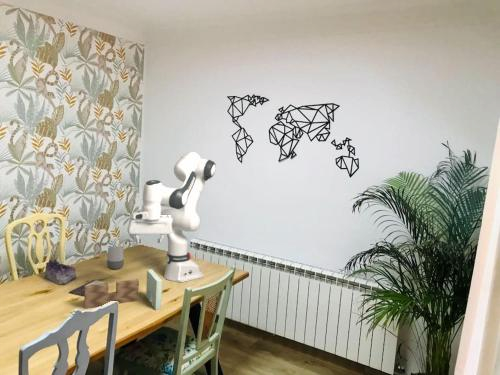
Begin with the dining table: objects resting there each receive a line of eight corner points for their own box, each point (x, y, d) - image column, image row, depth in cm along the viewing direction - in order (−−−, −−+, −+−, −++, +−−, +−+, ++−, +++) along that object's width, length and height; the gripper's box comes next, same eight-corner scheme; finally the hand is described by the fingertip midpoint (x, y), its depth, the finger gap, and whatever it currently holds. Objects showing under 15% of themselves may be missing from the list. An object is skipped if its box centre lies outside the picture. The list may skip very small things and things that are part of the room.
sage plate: (146, 296, 189) (147, 269, 187) (151, 295, 190) (152, 269, 189) (155, 310, 176) (156, 281, 174) (160, 309, 177) (162, 280, 175)
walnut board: (136, 298, 186) (137, 279, 185) (138, 300, 184) (138, 281, 183) (84, 306, 174) (84, 286, 172) (85, 309, 171) (85, 288, 170)
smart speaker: (120, 264, 231) (121, 242, 229) (125, 269, 224) (126, 246, 222) (104, 266, 225) (105, 244, 223) (109, 271, 218) (110, 248, 216)
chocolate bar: (68, 292, 186) (93, 279, 203) (68, 293, 186) (93, 281, 204) (83, 295, 184) (107, 282, 201) (83, 297, 184) (107, 284, 201)
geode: (34, 278, 201) (36, 259, 201) (54, 275, 211) (56, 257, 212) (60, 286, 192) (62, 266, 192) (79, 282, 202) (81, 263, 202)
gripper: (171, 213, 186) (169, 240, 187) (128, 212, 178) (126, 241, 179) (174, 216, 180) (172, 244, 182) (129, 215, 172) (127, 244, 174)
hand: (149, 242), depth 180 cm, fingers open, 8 cm apart
